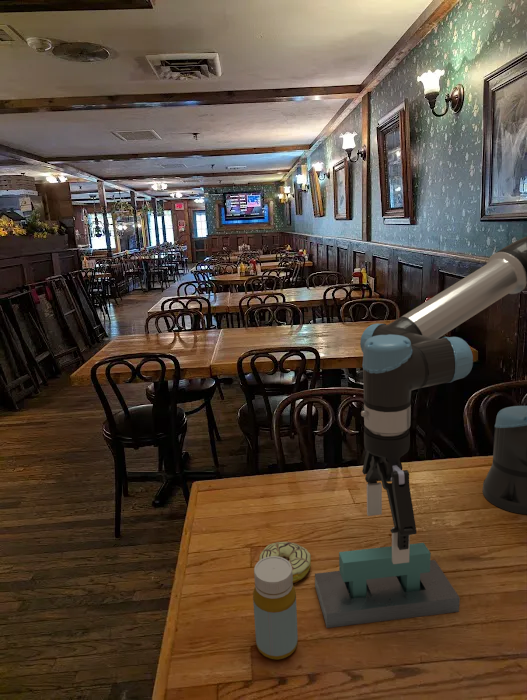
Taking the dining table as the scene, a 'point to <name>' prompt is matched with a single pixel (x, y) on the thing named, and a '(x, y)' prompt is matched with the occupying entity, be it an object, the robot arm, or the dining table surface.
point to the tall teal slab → (382, 567)
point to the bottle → (275, 608)
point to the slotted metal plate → (384, 598)
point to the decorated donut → (290, 557)
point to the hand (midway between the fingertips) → (386, 536)
